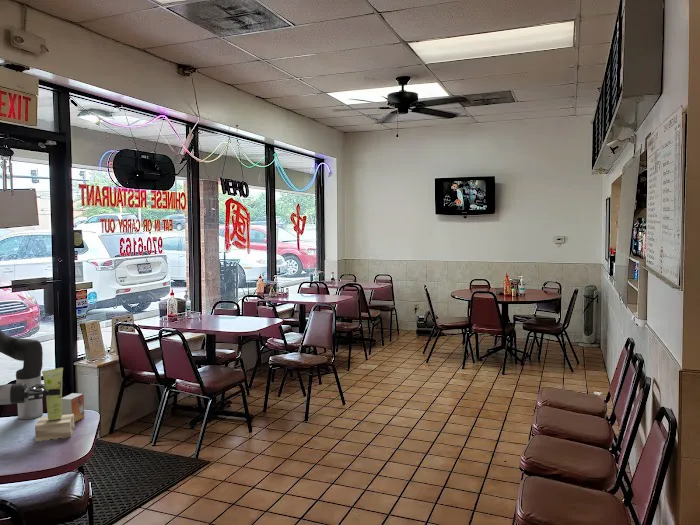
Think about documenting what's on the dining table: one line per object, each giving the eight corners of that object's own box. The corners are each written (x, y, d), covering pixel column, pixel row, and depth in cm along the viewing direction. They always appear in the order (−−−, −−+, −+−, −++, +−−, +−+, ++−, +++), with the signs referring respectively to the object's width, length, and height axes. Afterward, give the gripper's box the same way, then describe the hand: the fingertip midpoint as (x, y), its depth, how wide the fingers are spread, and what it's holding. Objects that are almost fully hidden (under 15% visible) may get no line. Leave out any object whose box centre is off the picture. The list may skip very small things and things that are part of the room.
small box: (72, 424, 232) (70, 399, 231) (60, 423, 233) (58, 398, 233) (85, 417, 240) (83, 393, 239) (73, 416, 241) (72, 392, 240)
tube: (56, 421, 218) (54, 371, 216) (43, 420, 218) (41, 370, 216) (64, 416, 223) (63, 367, 222) (52, 415, 224) (50, 367, 222)
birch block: (41, 432, 224) (40, 417, 224) (74, 428, 228) (73, 413, 227) (35, 441, 215) (34, 426, 214) (70, 437, 218) (69, 422, 218)
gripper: (6, 389, 208) (57, 385, 214) (15, 379, 222) (64, 375, 227) (6, 409, 209) (58, 404, 214) (16, 397, 222) (64, 393, 228)
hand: (61, 389), depth 221 cm, fingers closed on tube, 4 cm apart
